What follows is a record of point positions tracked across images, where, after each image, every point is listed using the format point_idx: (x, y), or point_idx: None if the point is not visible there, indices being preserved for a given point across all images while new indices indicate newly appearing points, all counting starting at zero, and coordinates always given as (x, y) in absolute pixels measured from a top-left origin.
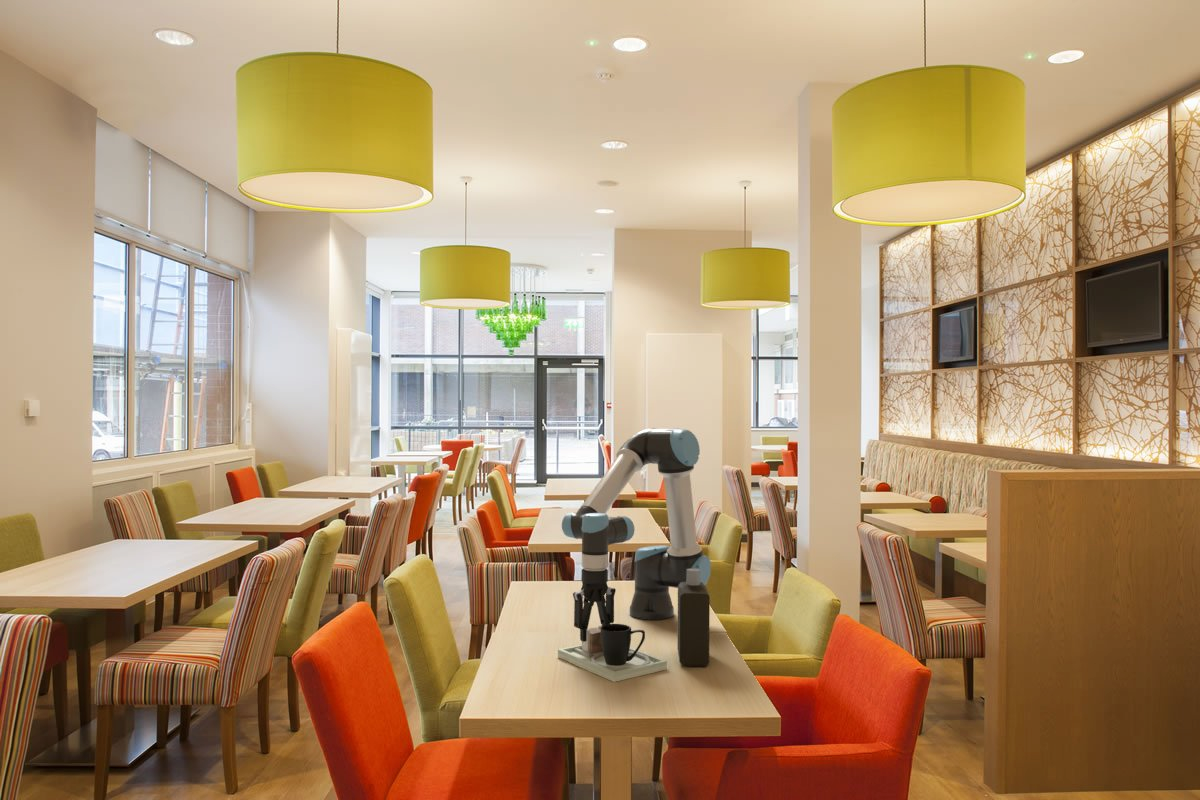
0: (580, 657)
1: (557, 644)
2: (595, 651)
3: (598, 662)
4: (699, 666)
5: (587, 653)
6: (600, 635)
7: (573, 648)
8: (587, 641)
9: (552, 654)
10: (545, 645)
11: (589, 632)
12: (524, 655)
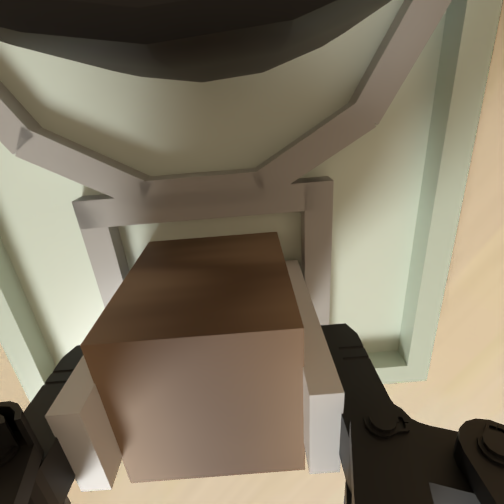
0: (448, 159)
1: (279, 482)
2: (247, 242)
3: (344, 37)
4: None
5: (321, 236)
6: (181, 314)
7: None
8: (315, 311)
9: (393, 391)
10: (331, 489)
11: (311, 370)
12: None
